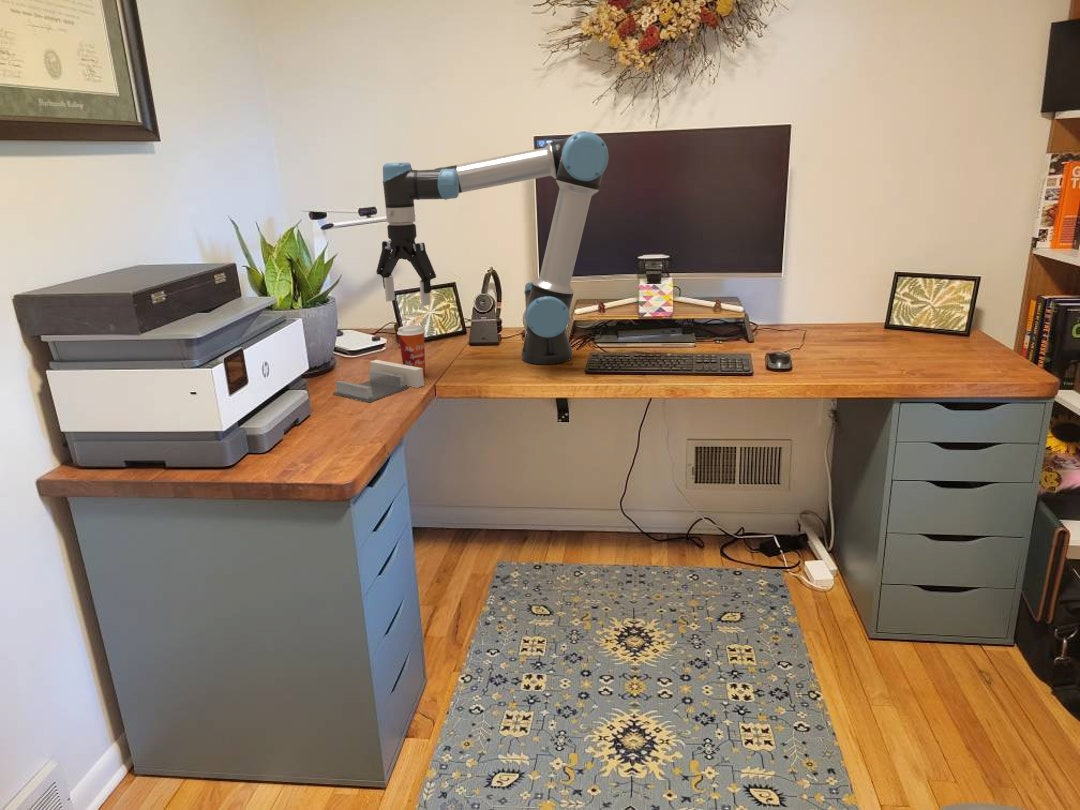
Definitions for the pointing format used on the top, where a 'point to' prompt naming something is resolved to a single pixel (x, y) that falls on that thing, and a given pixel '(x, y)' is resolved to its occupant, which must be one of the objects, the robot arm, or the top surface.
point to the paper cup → (412, 346)
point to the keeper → (372, 386)
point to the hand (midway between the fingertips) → (408, 302)
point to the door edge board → (401, 372)
